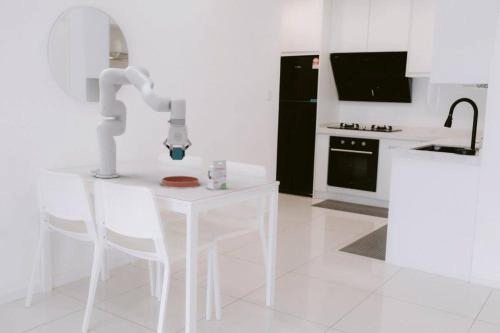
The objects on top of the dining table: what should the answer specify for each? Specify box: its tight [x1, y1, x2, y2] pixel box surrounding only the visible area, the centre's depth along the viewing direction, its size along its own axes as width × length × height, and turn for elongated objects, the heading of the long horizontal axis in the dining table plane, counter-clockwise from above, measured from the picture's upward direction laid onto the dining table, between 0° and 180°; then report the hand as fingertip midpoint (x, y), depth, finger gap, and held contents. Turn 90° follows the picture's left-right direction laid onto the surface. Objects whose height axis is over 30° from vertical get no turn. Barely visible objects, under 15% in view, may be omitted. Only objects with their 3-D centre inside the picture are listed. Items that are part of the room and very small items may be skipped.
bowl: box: [161, 175, 200, 188], centre depth 246 cm, size 19×19×3 cm
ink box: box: [206, 159, 227, 190], centre depth 238 cm, size 9×5×15 cm, turn 131°
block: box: [171, 146, 183, 161], centre depth 241 cm, size 5×5×6 cm
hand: (177, 157), depth 241 cm, fingers closed on block, 5 cm apart
